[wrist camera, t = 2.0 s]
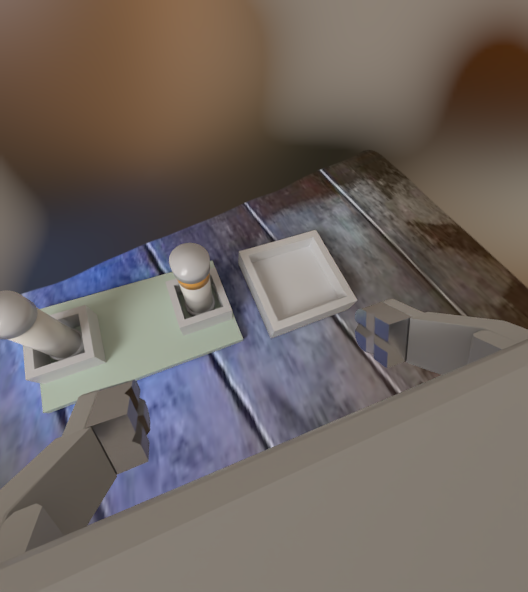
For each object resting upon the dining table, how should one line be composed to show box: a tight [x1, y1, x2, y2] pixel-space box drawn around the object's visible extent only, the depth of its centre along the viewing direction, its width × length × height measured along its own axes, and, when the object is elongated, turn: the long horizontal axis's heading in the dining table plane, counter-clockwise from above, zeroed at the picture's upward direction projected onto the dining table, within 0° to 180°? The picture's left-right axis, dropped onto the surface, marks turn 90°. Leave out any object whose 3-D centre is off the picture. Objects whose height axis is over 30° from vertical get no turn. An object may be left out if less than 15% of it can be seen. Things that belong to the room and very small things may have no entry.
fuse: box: [0, 291, 85, 361], centre depth 26 cm, size 4×4×11 cm
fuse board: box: [23, 261, 243, 413], centre depth 32 cm, size 12×22×4 cm, turn 113°
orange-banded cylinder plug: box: [169, 243, 215, 317], centre depth 30 cm, size 4×4×11 cm
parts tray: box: [238, 230, 357, 338], centre depth 37 cm, size 12×12×3 cm
